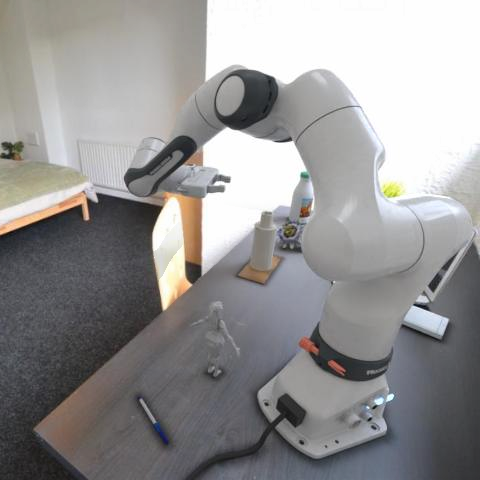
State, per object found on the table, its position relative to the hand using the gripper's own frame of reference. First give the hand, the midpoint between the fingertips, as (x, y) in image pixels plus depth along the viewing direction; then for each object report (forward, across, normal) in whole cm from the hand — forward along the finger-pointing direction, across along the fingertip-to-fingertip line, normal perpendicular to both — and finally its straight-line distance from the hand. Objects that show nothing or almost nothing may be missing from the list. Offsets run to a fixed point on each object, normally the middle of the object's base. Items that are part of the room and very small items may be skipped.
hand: (228, 184), depth 98 cm
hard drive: (+50, -14, +26) cm, 58 cm away
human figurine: (+7, -46, +26) cm, 54 cm away
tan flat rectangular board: (+12, 0, +26) cm, 29 cm away
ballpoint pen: (-1, -60, +26) cm, 65 cm away
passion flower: (+22, +18, +26) cm, 39 cm away
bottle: (+12, 0, +26) cm, 28 cm away
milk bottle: (+23, +42, +26) cm, 55 cm away
